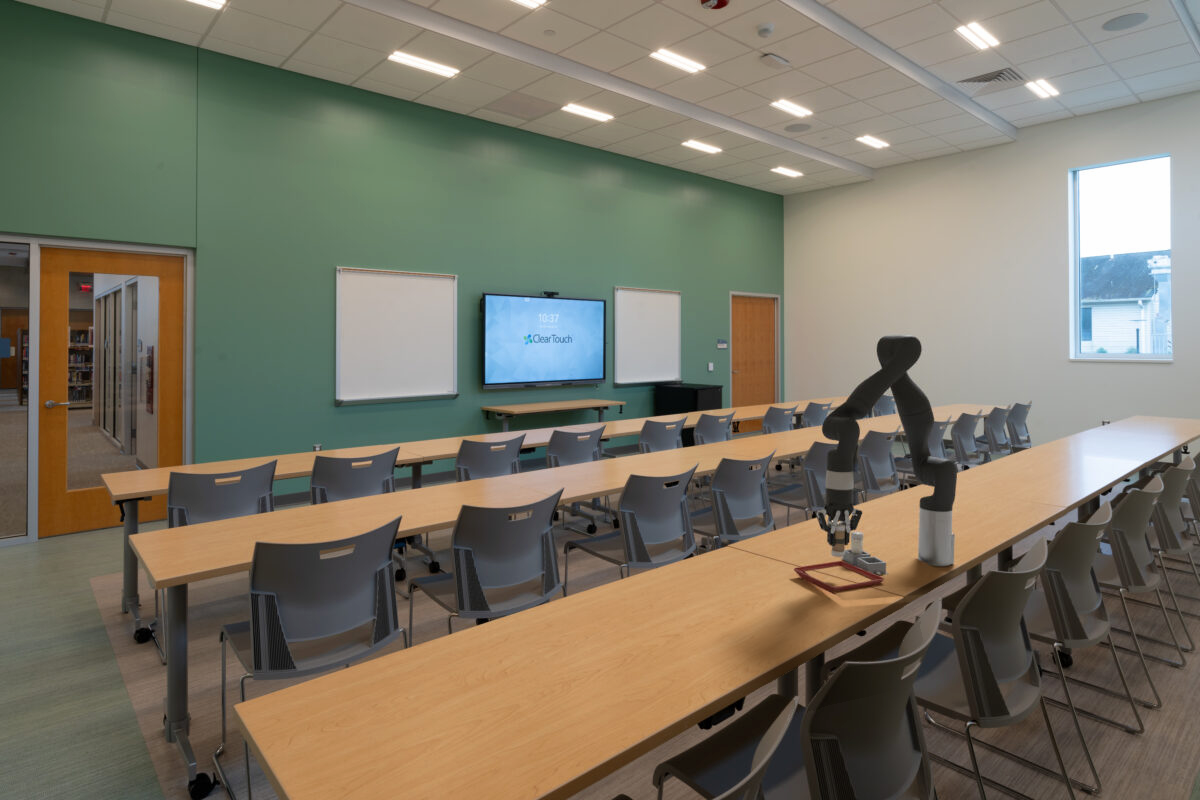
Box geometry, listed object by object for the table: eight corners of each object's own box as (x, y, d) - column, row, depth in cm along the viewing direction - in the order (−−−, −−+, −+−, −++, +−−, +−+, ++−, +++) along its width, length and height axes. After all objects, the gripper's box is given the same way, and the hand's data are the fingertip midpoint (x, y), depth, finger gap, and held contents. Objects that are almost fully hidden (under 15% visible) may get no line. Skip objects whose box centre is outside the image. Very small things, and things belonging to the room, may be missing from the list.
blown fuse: (840, 552, 190) (841, 522, 190) (847, 556, 187) (847, 525, 186) (829, 553, 190) (829, 523, 189) (835, 557, 186) (836, 526, 186)
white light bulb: (858, 559, 205) (859, 531, 204) (865, 563, 201) (865, 534, 201) (848, 560, 204) (848, 531, 204) (854, 563, 201) (854, 535, 200)
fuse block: (858, 561, 207) (858, 547, 207) (889, 578, 192) (889, 563, 191) (840, 562, 206) (840, 548, 206) (869, 580, 191) (869, 565, 190)
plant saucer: (792, 578, 194) (792, 567, 194) (840, 570, 201) (841, 559, 200) (833, 599, 177) (834, 587, 177) (885, 590, 184) (886, 578, 184)
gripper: (855, 482, 192) (853, 540, 193) (810, 484, 190) (809, 542, 191) (869, 487, 184) (868, 547, 186) (822, 489, 182) (821, 550, 183)
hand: (838, 544), depth 188 cm, fingers closed on blown fuse, 3 cm apart
